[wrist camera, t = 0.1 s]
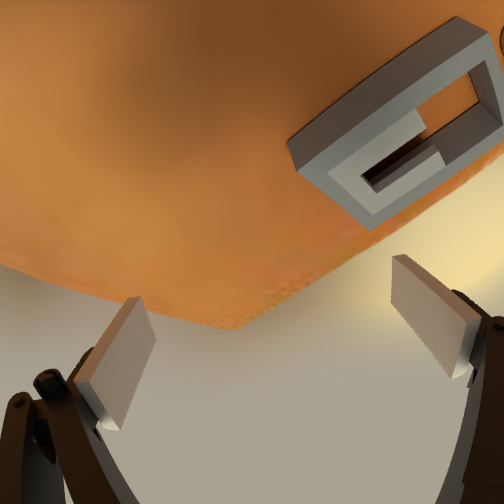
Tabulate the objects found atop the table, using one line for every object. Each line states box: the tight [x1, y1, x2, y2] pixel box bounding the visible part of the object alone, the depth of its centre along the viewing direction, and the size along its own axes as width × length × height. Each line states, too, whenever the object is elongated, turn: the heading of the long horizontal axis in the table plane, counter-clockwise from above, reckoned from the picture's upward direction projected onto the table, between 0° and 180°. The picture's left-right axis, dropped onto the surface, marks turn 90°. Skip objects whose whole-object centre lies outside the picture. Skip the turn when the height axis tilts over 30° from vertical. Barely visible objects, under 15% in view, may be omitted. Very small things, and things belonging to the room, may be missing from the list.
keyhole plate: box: [287, 17, 504, 231], centre depth 22 cm, size 20×12×4 cm, turn 137°
